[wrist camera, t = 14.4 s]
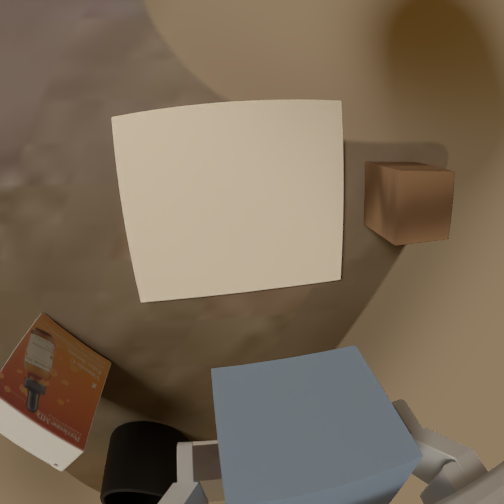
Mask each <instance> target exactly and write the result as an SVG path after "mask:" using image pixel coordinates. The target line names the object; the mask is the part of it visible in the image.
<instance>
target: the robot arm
mask: <svg viewBox="0 0 504 504" xmlns="http://www.w3.org/2000/svg"><path fill="white" fill-rule="evenodd" d="M392 404H393V406H394V408H395V409H396V411H397V413H398V414H399V416H400V417H401V419H402V421H403V422H404V424H405V426H406V427H407V429H408V431H409V432H410V434H411V436H412V437H413V439H414V441H415V442H416V444H417V446H418V447H419V449H420V451H421V453H422V454H423V457H422V458H421V460H420V461H419V463H418V464H417V466H416V467H415V469H414V470H413V472H412V474H413V475H415V476H416V477H418V478H419V479H421V480H422V481H424V482H426V483H427V484H429V485H428V486H427V487H426V488H425V489H424V491H423V492H422V493H421V495H420V497H421V499H422V501H423V503H424V504H504V461H503V462H502V463H500V464H499V465H498V466H496V467H495V468H493V469H492V470H490V471H489V472H488V471H487V470H486V468H485V467H484V465H483V464H482V462H481V461H480V459H479V458H478V456H477V455H476V453H475V452H474V450H473V449H471V448H469V447H466V446H464V445H462V444H460V443H458V442H455V441H453V440H451V439H449V438H447V437H444V436H442V435H440V434H438V433H436V432H434V431H432V430H430V429H427V428H425V429H423V428H422V427H421V425H420V424H419V422H418V420H417V419H416V417H415V416H414V414H413V413H412V411H411V410H410V408H409V407H408V405H407V404H406V402H405V401H404V400H397V401H395V402H392ZM221 500H225V497H224V489H223V481H222V473H221V465H220V456H219V447H218V440H208V441H195V442H193V441H192V442H178V444H177V483H173V484H172V485H171V486H170V488H169V489H168V491H167V492H166V493H165V495H164V496H163V497H162V499H161V500H160V501H159V503H158V504H208V502H211V501H221Z"/></svg>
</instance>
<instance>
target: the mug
mask: <svg viewBox="0 0 504 504" xmlns="http://www.w3.org/2000/svg"><path fill="white" fill-rule="evenodd" d="M178 442H188V440H187V439H186V438H185V437H184V436H183V435H182V434H181V433H179V432H178V431H176V430H174V429H172V428H170V427H167V426H164V425H161V424H157V423H151V422H130V423H126V424H123V425H121V426H119V427H117V428H116V429H115V430H114V431H113V433H112V435H111V438H110V443H109V448H108V454H107V459H106V465H105V470H104V476H103V482H102V488H101V495H100V499H101V502H102V504H158V503H159V501H160V500H161V499H162V497H163V496H164V495H165V493H166V492H167V491H168V489H169V488H170V486H171V485H172V484H173V483H177V444H178Z"/></svg>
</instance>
